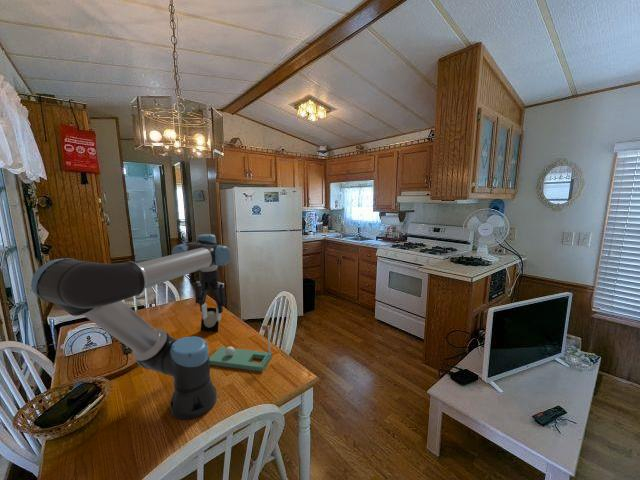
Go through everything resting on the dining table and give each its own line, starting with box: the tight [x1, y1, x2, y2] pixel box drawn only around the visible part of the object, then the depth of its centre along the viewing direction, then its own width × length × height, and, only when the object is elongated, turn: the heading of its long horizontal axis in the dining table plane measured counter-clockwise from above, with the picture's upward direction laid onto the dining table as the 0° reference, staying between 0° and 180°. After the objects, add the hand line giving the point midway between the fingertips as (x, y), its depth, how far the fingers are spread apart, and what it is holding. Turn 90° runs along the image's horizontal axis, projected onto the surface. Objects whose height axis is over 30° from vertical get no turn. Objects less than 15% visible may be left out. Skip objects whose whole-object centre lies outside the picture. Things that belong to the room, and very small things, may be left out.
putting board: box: [209, 325, 273, 373], centre depth 122 cm, size 11×26×16 cm, turn 79°
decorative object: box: [200, 307, 221, 333], centre depth 153 cm, size 13×10×10 cm
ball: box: [225, 346, 235, 356], centre depth 124 cm, size 4×4×4 cm
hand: (212, 318), depth 123 cm, fingers open, 6 cm apart
